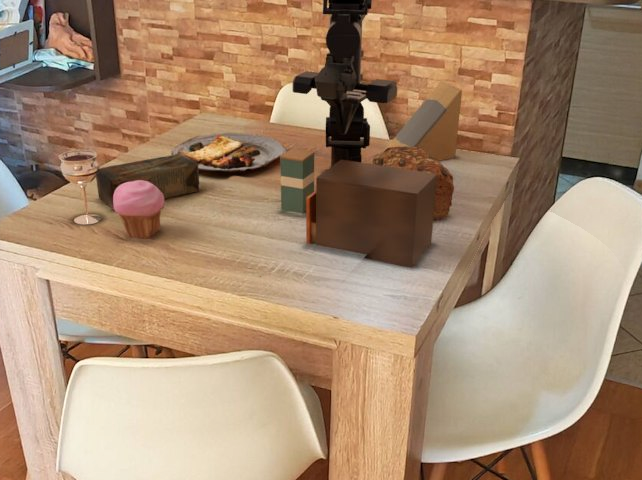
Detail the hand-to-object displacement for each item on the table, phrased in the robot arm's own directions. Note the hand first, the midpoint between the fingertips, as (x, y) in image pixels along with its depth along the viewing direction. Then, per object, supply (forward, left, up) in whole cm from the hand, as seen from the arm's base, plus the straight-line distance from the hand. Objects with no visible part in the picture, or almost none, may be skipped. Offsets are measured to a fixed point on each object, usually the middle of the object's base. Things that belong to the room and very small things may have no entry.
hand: (343, 134), depth 154 cm
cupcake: (-6, -40, -13) cm, 43 cm away
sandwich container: (-12, +30, -13) cm, 35 cm away
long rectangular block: (0, -10, -13) cm, 17 cm away
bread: (+9, +9, -13) cm, 19 cm away
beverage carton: (-24, -30, -13) cm, 40 cm away
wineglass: (-19, -45, -13) cm, 51 cm away
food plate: (-34, -6, -13) cm, 37 cm away
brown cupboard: (+21, -9, -13) cm, 26 cm away
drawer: (+19, -10, -13) cm, 25 cm away
